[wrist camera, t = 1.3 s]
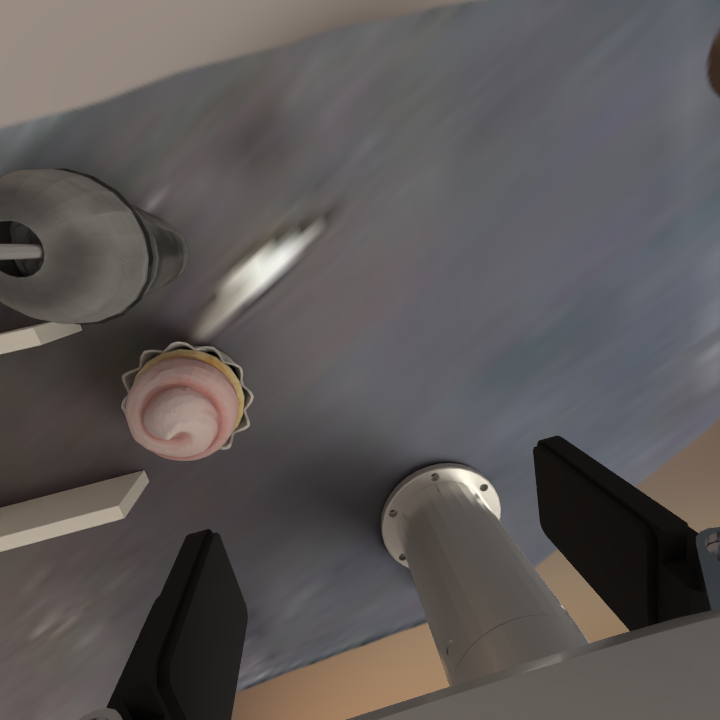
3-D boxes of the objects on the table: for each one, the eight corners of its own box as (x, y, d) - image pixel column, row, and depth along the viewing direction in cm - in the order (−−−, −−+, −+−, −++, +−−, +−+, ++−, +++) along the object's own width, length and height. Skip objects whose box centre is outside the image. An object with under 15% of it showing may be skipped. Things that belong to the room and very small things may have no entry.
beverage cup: (102, 194, 28) (-333, 65, 9) (207, 207, 29) (27, 118, 10) (109, 295, 30) (-239, 369, 11) (207, 303, 31) (55, 382, 12)
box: (149, 481, 34) (124, 518, 29) (-17, 525, 33) (-70, 570, 28) (76, 315, 30) (33, 327, 25) (-119, 359, 28) (-203, 380, 24)
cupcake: (157, 437, 33) (99, 511, 24) (135, 332, 31) (61, 367, 21) (266, 426, 34) (252, 492, 25) (254, 325, 32) (234, 355, 22)
